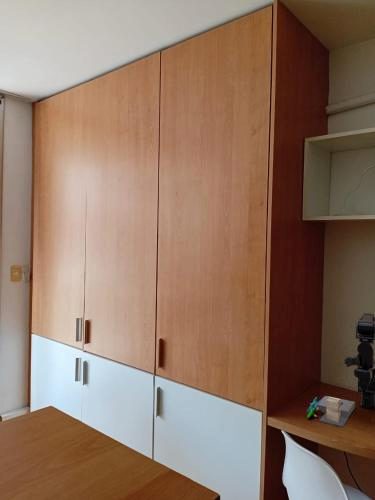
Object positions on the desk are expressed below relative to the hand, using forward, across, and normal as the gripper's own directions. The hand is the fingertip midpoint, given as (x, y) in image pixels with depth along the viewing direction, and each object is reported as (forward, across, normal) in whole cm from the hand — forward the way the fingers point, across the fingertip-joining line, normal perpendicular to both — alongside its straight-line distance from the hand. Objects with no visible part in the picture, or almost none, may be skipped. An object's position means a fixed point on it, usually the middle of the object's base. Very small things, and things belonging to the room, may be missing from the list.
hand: (366, 388), depth 159 cm
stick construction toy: (+12, +10, -18) cm, 24 cm away
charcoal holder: (+12, -2, -13) cm, 18 cm away
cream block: (+11, +11, -11) cm, 19 cm away
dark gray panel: (+12, +11, -10) cm, 19 cm away
